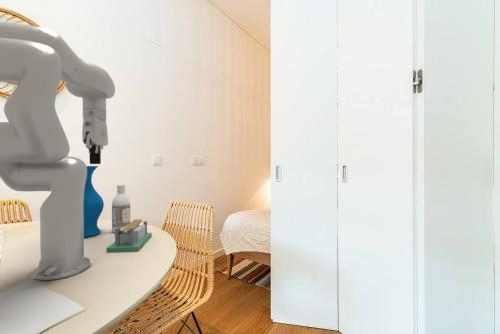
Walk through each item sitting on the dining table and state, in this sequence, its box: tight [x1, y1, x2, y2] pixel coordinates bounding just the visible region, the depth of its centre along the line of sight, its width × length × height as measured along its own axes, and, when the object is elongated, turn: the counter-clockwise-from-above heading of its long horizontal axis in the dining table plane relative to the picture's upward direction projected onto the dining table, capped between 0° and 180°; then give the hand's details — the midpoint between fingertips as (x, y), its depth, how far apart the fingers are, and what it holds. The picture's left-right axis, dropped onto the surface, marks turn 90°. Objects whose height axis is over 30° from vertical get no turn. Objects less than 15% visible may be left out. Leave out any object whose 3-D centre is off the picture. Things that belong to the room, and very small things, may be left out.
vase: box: [83, 165, 105, 238], centre depth 98 cm, size 12×13×28 cm
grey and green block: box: [106, 220, 153, 253], centre depth 88 cm, size 16×10×8 cm, turn 7°
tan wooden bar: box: [119, 219, 143, 234], centre depth 89 cm, size 14×3×1 cm, turn 7°
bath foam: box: [111, 184, 131, 234], centre depth 104 cm, size 7×7×20 cm
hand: (95, 163), depth 92 cm, fingers closed
